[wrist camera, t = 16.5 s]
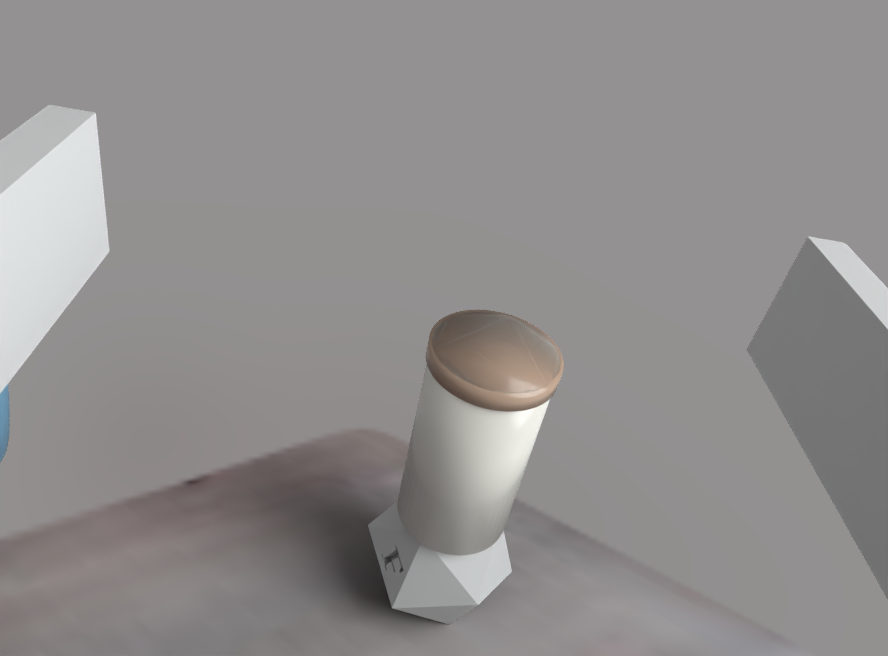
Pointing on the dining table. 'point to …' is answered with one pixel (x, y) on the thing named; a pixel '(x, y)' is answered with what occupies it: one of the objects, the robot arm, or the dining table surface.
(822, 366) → the robot arm
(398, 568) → the die
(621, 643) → the dining table surface
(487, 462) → the jar
